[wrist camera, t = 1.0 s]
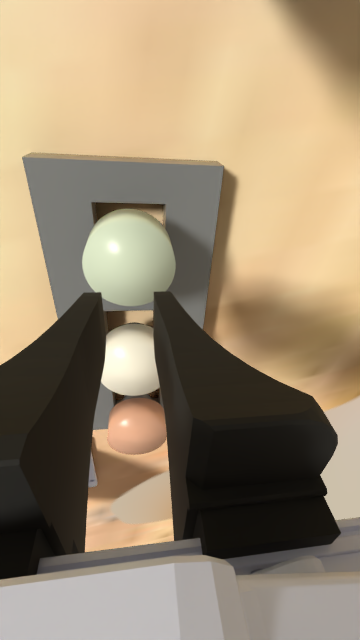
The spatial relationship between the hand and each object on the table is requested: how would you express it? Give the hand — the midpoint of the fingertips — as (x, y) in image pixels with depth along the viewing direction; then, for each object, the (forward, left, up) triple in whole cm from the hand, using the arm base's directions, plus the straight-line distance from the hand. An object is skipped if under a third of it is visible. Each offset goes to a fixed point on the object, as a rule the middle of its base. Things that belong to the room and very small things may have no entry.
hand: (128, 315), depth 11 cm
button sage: (0, 0, -7) cm, 7 cm away
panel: (-7, 0, -9) cm, 12 cm away
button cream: (-7, 0, -7) cm, 10 cm away
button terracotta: (-14, 0, -7) cm, 16 cm away
